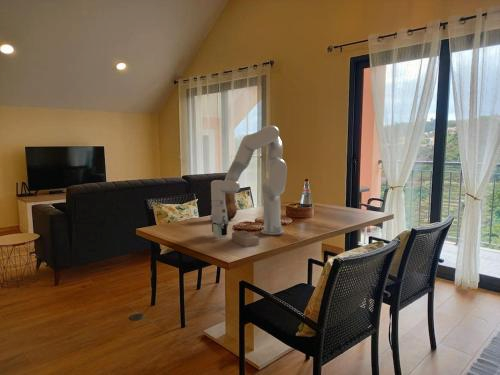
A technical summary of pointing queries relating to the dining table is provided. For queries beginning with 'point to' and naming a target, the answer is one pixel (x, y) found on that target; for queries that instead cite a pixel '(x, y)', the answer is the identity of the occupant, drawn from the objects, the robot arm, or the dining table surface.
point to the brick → (245, 238)
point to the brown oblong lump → (230, 205)
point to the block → (217, 231)
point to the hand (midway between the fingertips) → (219, 233)
